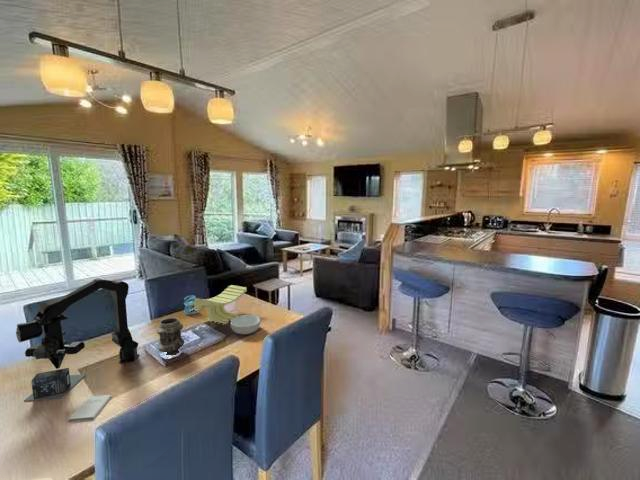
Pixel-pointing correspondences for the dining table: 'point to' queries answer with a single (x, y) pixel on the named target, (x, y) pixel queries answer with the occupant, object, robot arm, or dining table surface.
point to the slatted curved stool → (220, 304)
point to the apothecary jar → (170, 336)
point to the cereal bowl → (245, 324)
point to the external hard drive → (90, 408)
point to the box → (51, 383)
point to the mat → (73, 379)
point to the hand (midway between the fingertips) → (58, 368)
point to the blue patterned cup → (189, 305)
